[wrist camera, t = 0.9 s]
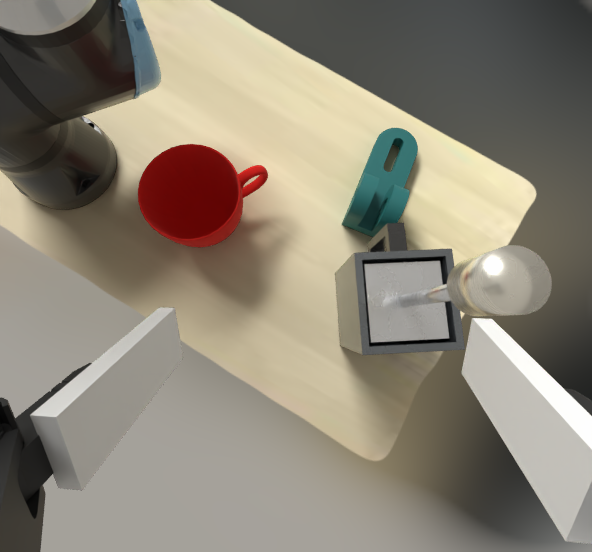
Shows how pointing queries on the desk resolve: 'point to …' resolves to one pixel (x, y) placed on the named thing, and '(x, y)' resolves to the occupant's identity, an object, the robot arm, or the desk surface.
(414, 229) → the desk surface
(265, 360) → the desk surface
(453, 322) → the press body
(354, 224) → the bracket
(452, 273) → the plunger
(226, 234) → the ceramic cup
